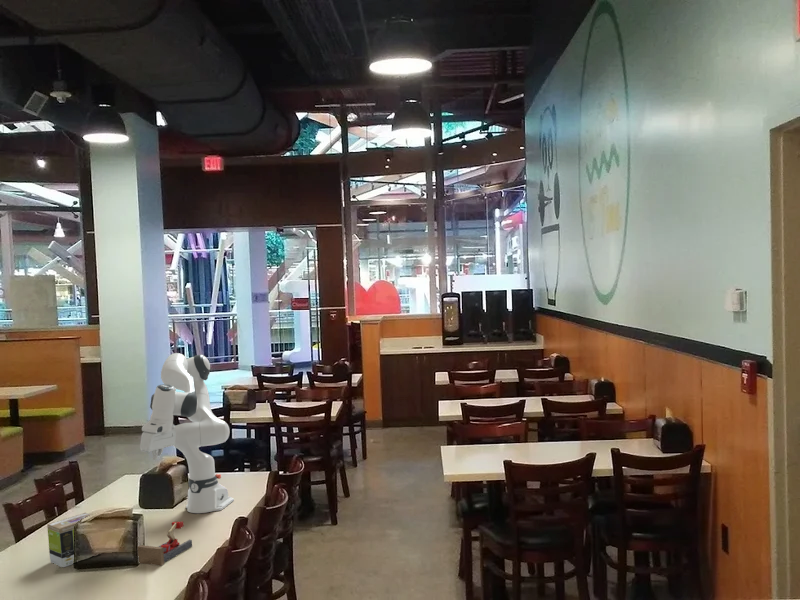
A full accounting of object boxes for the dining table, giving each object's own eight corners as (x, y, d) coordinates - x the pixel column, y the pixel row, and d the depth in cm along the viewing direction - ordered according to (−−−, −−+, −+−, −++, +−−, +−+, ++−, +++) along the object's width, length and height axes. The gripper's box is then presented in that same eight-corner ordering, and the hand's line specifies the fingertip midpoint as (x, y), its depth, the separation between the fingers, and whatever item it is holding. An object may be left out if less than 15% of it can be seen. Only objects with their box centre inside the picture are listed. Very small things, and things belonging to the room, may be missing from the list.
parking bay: (172, 544, 277) (171, 529, 277) (193, 546, 273) (193, 531, 273) (138, 563, 259) (137, 546, 259) (161, 565, 256) (160, 549, 256)
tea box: (88, 549, 276) (86, 511, 275) (102, 555, 269) (99, 516, 269) (49, 562, 264) (46, 522, 264) (62, 568, 258) (59, 527, 257)
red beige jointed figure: (159, 558, 263) (157, 532, 263) (176, 544, 276) (175, 520, 276) (167, 558, 262) (166, 532, 262) (184, 545, 276) (183, 520, 276)
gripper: (168, 421, 300) (163, 454, 300) (139, 427, 280) (134, 462, 280) (181, 423, 299) (177, 456, 298) (153, 429, 279) (148, 465, 278)
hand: (156, 459), depth 289 cm, fingers closed
